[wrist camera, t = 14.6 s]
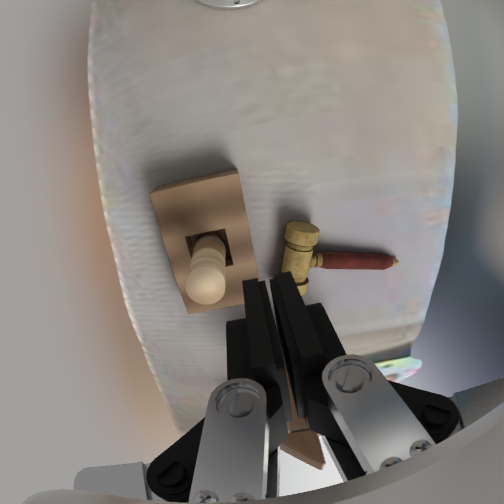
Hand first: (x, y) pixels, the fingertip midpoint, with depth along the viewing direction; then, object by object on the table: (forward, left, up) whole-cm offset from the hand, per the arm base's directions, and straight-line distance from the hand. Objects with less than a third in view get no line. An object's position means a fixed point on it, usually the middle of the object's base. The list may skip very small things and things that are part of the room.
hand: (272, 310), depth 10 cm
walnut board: (+8, -5, -29) cm, 31 cm away
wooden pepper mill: (+8, -5, -28) cm, 30 cm away
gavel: (+15, +14, -30) cm, 36 cm away
